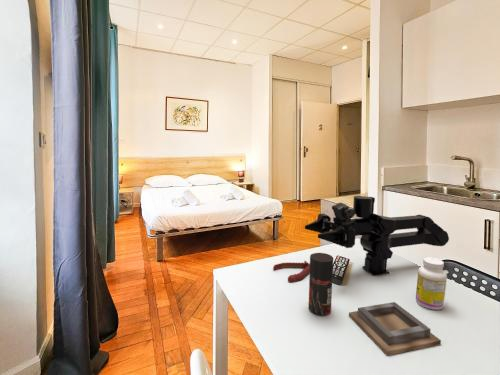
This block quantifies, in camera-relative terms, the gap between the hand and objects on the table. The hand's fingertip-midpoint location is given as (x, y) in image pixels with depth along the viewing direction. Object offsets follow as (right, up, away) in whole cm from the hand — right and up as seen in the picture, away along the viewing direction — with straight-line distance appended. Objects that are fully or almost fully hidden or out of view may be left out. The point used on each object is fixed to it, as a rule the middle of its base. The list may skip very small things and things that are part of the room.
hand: (311, 231), depth 88 cm
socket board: (+15, -20, -22) cm, 33 cm away
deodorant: (-1, -19, -14) cm, 24 cm away
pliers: (-1, -16, +8) cm, 18 cm away
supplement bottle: (+31, -19, -11) cm, 38 cm away
